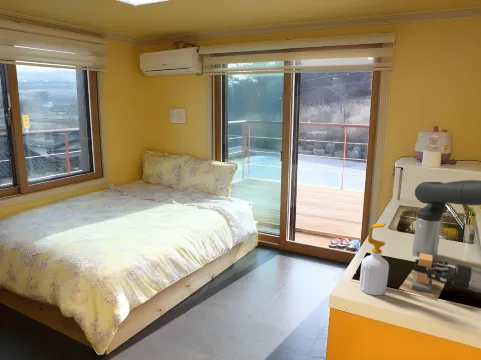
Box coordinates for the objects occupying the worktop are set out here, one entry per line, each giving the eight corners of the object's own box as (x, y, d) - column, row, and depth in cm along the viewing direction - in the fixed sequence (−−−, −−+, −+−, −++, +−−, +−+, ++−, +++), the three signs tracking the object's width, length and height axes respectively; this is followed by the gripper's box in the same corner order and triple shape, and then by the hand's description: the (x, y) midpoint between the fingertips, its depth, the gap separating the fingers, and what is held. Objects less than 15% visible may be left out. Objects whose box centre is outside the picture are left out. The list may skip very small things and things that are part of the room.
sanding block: (413, 275, 136) (417, 248, 132) (431, 278, 133) (435, 252, 130) (411, 288, 129) (415, 261, 125) (430, 293, 126) (435, 265, 122)
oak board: (412, 273, 144) (412, 269, 144) (446, 282, 137) (447, 278, 137) (398, 292, 129) (399, 288, 129) (436, 304, 122) (437, 300, 121)
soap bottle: (383, 298, 124) (391, 229, 119) (356, 291, 129) (362, 224, 124) (388, 288, 132) (396, 222, 127) (362, 281, 136) (369, 217, 132)
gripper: (471, 260, 127) (417, 248, 135) (473, 276, 115) (414, 262, 123) (467, 280, 129) (414, 266, 137) (469, 298, 117) (410, 282, 125)
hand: (414, 264), depth 130 cm, fingers closed on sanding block, 4 cm apart
